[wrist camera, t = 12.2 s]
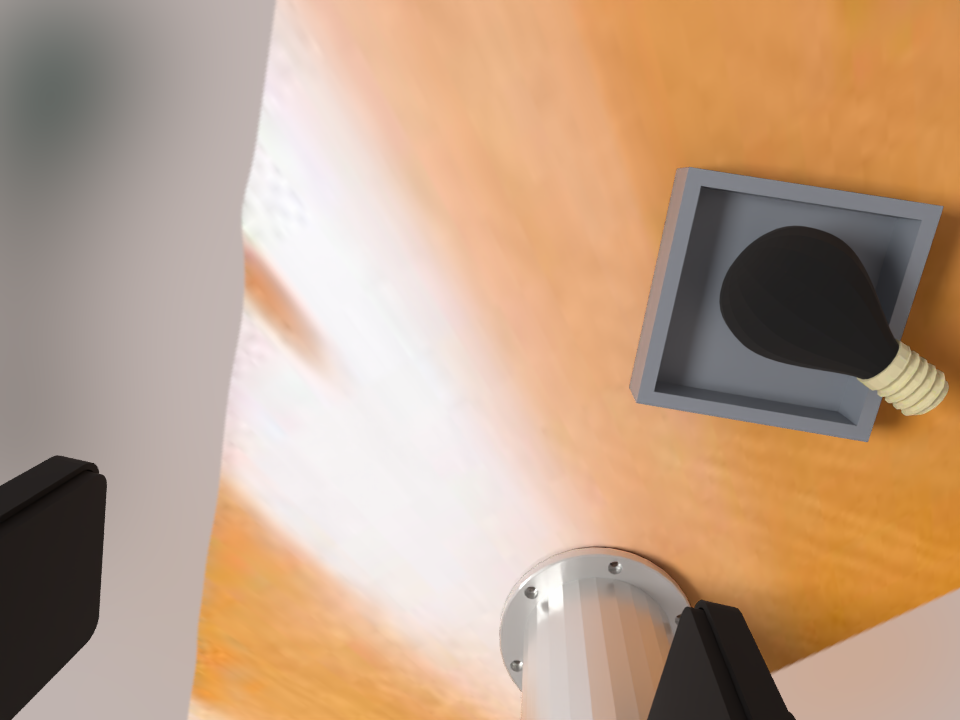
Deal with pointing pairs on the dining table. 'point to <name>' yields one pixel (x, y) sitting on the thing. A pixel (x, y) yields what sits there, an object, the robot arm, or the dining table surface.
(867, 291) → the light bulb
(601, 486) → the dining table surface
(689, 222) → the parts tray
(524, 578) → the robot arm
